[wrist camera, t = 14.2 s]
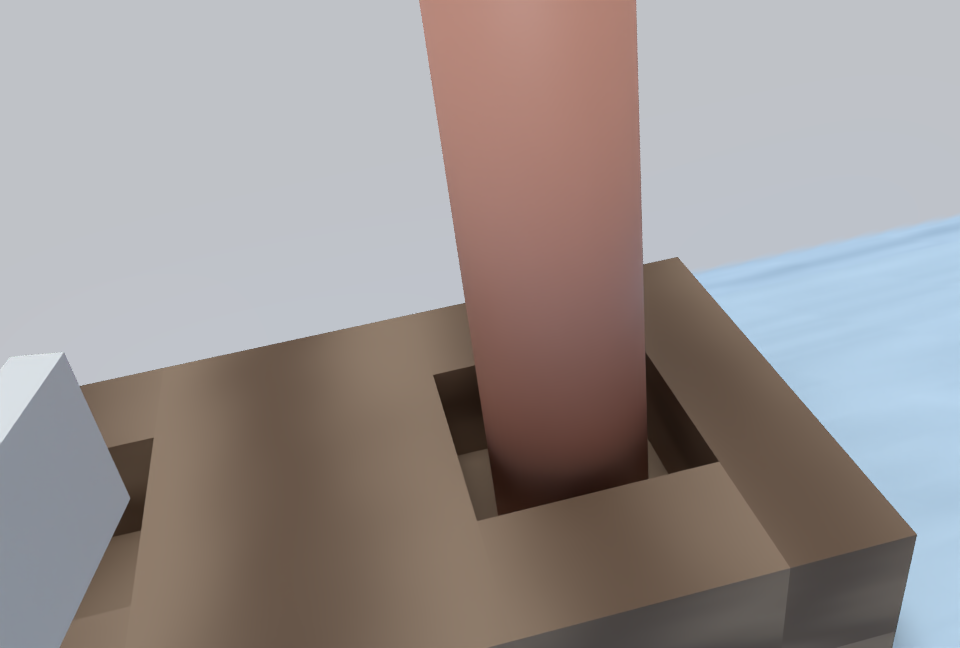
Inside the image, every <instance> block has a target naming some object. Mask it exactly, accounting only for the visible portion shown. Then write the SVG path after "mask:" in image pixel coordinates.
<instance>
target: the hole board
mask: <svg viewBox="0 0 960 648" xmlns="http://www.w3.org/2000/svg"><path fill="white" fill-rule="evenodd" d="M643 286H644V324H645V362H646V400H647V438H648V476H649V479H647V480H643V481H639V482H635V483H630V484H626V485H622V486H618V487H614V488H610V489H606V490H602V491H598V492H594V493H590V494H586V495H582V496H578V497H573V498H569V499H565V500H561V501H557V502H553V503H549V504H545V505H541V506H537V507H533V508H529V509H525V510H521V511H516V512H512V513H508V514H504V515H500V516H498V512H497V506H496V499H495V493H494V486H493V480H492V473H491V467H490V460H489V454H488V447H487V441H486V434H485V427H484V421H483V414H482V408H481V401H480V395H479V388H478V382H477V375H476V369H475V362H474V355H473V349H472V342H471V336H470V329H469V323H468V316H467V310H466V303H463V304H458V305H453V306H449V307H445V308H440V309H435V310H430V311H426V312H421V313H416V314H412V315H407V316H402V317H398V318H393V319H389V320H384V321H379V322H375V323H370V324H365V325H361V326H356V327H352V328H347V329H342V330H338V331H333V332H328V333H324V334H319V335H315V336H310V337H305V338H300V339H296V340H291V341H287V342H282V343H277V344H273V345H268V346H263V347H259V348H254V349H249V350H245V351H241V352H236V353H231V354H227V355H222V356H217V357H212V358H208V359H203V360H198V361H194V362H189V363H185V364H180V365H175V366H171V367H166V368H161V369H157V370H152V371H148V372H143V373H138V374H134V375H129V376H124V377H120V378H115V379H111V380H106V381H101V382H97V383H92V384H87V385H83V386H80V389H81V391H82V393H83V395H84V397H85V400H86V402H87V404H88V406H89V408H90V411H91V413H92V415H93V417H94V419H95V422H96V424H97V426H98V428H99V430H100V433H101V435H102V437H103V439H104V441H105V444H106V446H107V448H108V450H109V452H110V455H111V457H112V459H113V461H114V463H115V466H116V468H117V470H118V472H119V474H120V477H121V479H122V481H123V483H124V485H125V488H126V490H127V492H128V494H129V496H130V500H129V502H128V504H127V507H126V509H125V511H124V513H123V515H122V517H121V519H120V521H119V523H118V526H117V528H116V530H115V532H114V534H113V536H112V538H111V540H110V542H109V544H108V547H107V549H106V551H105V553H104V555H103V557H102V559H101V561H100V563H99V565H98V568H97V570H96V572H95V574H94V576H93V578H92V580H91V582H90V584H89V586H88V589H87V591H86V593H85V595H84V597H83V599H82V601H81V603H80V605H79V608H78V610H77V612H76V614H75V616H74V618H73V620H72V622H71V624H70V626H69V629H68V631H67V633H66V635H65V637H64V639H63V641H62V643H61V645H60V647H59V648H892V646H893V641H894V637H895V632H896V628H897V623H898V619H899V614H900V610H901V605H902V600H903V596H904V591H905V587H906V582H907V578H908V573H909V569H910V564H911V559H912V555H913V550H914V546H915V541H916V537H917V534H916V533H915V532H914V531H913V530H912V528H911V527H910V526H909V525H908V524H907V523H906V521H905V520H904V519H903V518H902V517H901V516H900V515H899V513H898V512H897V511H896V510H895V509H894V508H893V506H892V505H891V504H890V503H889V502H888V501H887V499H886V498H885V497H884V496H883V495H882V494H881V492H880V491H879V490H878V489H877V488H876V487H875V486H874V484H873V483H872V482H871V481H870V480H869V479H868V477H867V476H866V475H865V474H864V473H863V472H862V470H861V469H860V468H859V467H858V466H857V465H856V463H855V462H854V461H853V460H852V459H851V458H850V457H849V455H848V454H847V453H846V452H845V451H844V450H843V448H842V447H841V446H840V445H839V444H838V443H837V441H836V440H835V439H834V438H833V437H832V436H831V434H830V433H829V432H828V431H827V430H826V429H825V428H824V426H823V425H822V424H821V423H820V422H819V421H818V419H817V418H816V417H815V416H814V415H813V414H812V412H811V411H810V410H809V409H808V408H807V407H806V405H805V404H804V403H803V402H802V401H801V400H800V399H799V397H798V396H797V395H796V394H795V393H794V392H793V390H792V389H791V388H790V387H789V386H788V385H787V383H786V382H785V381H784V380H783V379H782V378H781V376H780V375H779V374H778V373H777V372H776V371H775V370H774V368H773V367H772V366H771V365H770V364H769V363H768V361H767V360H766V359H765V358H764V357H763V356H762V354H761V353H760V352H759V351H758V350H757V349H756V347H755V346H754V345H753V344H752V343H751V342H750V341H749V339H748V338H747V337H746V336H745V335H744V334H743V332H742V331H741V330H740V329H739V328H738V327H737V325H736V324H735V323H734V322H733V321H732V320H731V318H730V317H729V316H728V315H727V314H726V313H725V312H724V310H723V309H722V308H721V307H720V306H719V305H718V303H717V302H716V301H715V300H714V299H713V298H712V296H711V295H710V294H709V293H708V292H707V291H706V289H705V288H704V287H703V286H702V285H701V284H700V283H699V281H698V280H697V279H696V278H695V277H694V276H693V274H692V273H691V272H690V271H689V270H688V269H687V267H686V266H685V265H684V264H683V263H682V262H681V261H680V259H679V258H678V257H676V258H671V259H667V260H662V261H658V262H653V263H648V264H643Z"/></svg>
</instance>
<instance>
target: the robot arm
mask: <svg viewBox="0 0 960 648" xmlns="http://www.w3.org/2000/svg"><path fill="white" fill-rule="evenodd" d="M129 500H130V496H129V494H128V492H127V490H126V488H125V485H124V483H123V481H122V479H121V477H120V474H119V472H118V470H117V468H116V466H115V463H114V461H113V459H112V457H111V455H110V452H109V450H108V448H107V446H106V444H105V441H104V439H103V437H102V435H101V433H100V430H99V428H98V426H97V424H96V422H95V419H94V417H93V415H92V413H91V411H90V408H89V406H88V404H87V402H86V400H85V397H84V395H83V393H82V391H81V389H80V386H79V385H78V382H77V380H76V378H75V375H74V373H73V371H72V369H71V367H70V364H69V362H68V360H67V358H66V356H65V353H64V352H62V353H61V352H60V353H49V354H37V355H25V356H14V357H10V358H9V359H8V360H7V362H6V363H5V364H4V366H3V367H2V368H1V369H0V648H59V647H60V645H61V643H62V641H63V639H64V637H65V635H66V633H67V631H68V629H69V626H70V624H71V622H72V620H73V618H74V616H75V614H76V612H77V610H78V608H79V605H80V603H81V601H82V599H83V597H84V595H85V593H86V591H87V589H88V586H89V584H90V582H91V580H92V578H93V576H94V574H95V572H96V570H97V568H98V565H99V563H100V561H101V559H102V557H103V555H104V553H105V551H106V549H107V547H108V544H109V542H110V540H111V538H112V536H113V534H114V532H115V530H116V528H117V526H118V523H119V521H120V519H121V517H122V515H123V513H124V511H125V509H126V507H127V504H128V502H129Z"/></svg>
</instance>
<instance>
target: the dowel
mask: <svg viewBox="0 0 960 648" xmlns="http://www.w3.org/2000/svg"><path fill="white" fill-rule="evenodd" d="M419 2H420V8H421V15H422V21H423V27H424V34H425V41H426V48H427V54H428V61H429V67H430V74H431V80H432V86H433V93H434V100H435V106H436V113H437V120H438V126H439V132H440V139H441V146H442V152H443V159H444V165H445V171H446V179H447V184H448V192H449V198H450V205H451V211H452V218H453V224H454V231H455V238H456V244H457V251H458V257H459V263H460V270H461V277H462V283H463V290H464V296H465V303H466V310H467V316H468V323H469V329H470V336H471V342H472V349H473V355H474V362H475V369H476V375H477V382H478V388H479V395H480V401H481V408H482V414H483V421H484V427H485V434H486V441H487V447H488V454H489V460H490V467H491V473H492V480H493V486H494V493H495V499H496V506H497V512H498V516H500V515H504V514H508V513H512V512H516V511H521V510H525V509H529V508H533V507H537V506H541V505H545V504H549V503H553V502H557V501H561V500H565V499H569V498H573V497H578V496H582V495H586V494H590V493H594V492H598V491H602V490H606V489H610V488H614V487H618V486H622V485H626V484H630V483H635V482H639V481H643V480H647V479H649V476H648V438H647V400H646V362H645V324H644V286H643V248H642V210H641V171H640V135H639V98H638V97H639V96H638V61H637V60H638V58H637V20H636V0H419Z"/></svg>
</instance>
